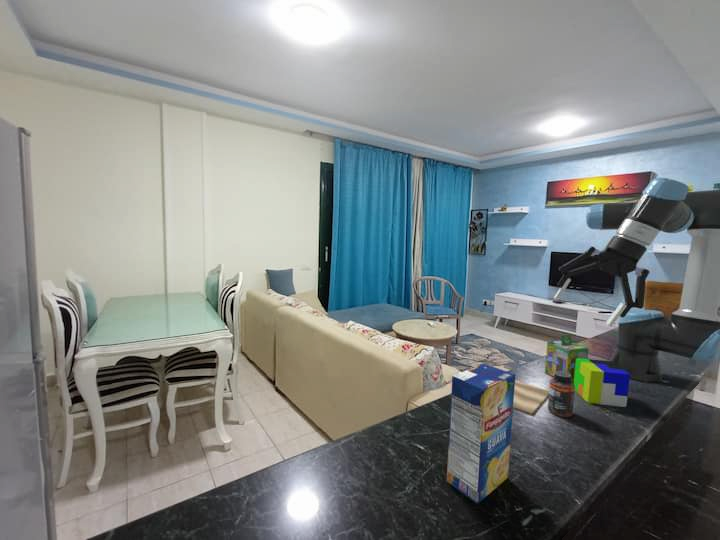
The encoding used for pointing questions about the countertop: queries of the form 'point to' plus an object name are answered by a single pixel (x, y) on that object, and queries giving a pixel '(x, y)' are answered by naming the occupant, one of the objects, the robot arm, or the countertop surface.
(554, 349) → the chalk box
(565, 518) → the countertop surface
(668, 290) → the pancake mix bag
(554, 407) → the supplement bottle
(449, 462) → the beverage box
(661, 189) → the robot arm
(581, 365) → the puzzle toy
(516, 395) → the wooden board
